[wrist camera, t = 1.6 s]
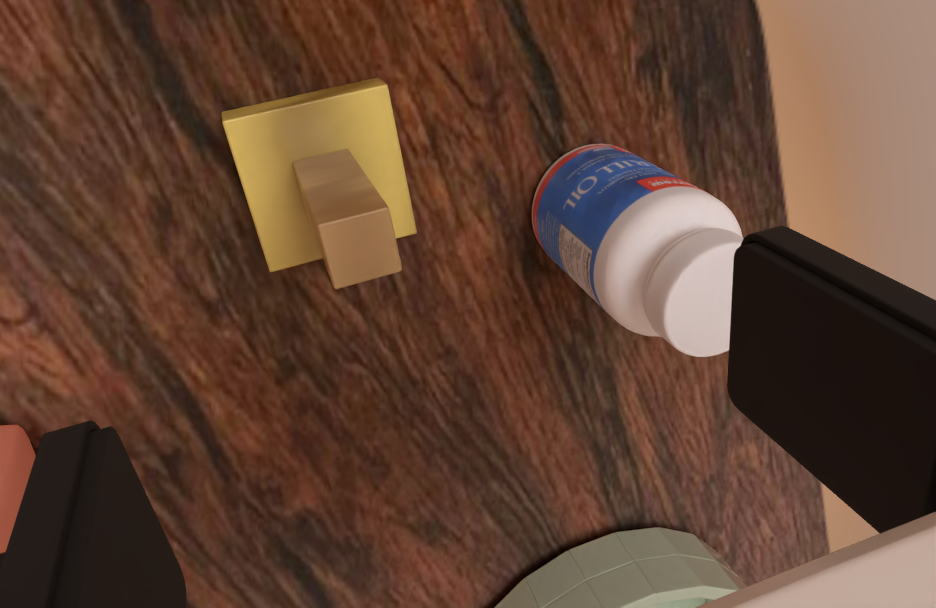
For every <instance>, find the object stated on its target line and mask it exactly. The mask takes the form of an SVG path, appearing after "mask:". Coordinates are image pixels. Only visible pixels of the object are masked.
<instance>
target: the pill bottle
mask: <svg viewBox="0 0 936 608" xmlns="http://www.w3.org/2000/svg"><path fill="white" fill-rule="evenodd" d="M532 225H533V230H534V233H535V236H536V238H537V240H538V242H539V244H540V246H541V247H542V248H543V250H544V251H545V252H546V254H547V255H548V256H549V257H550V258H551V259H552V260H553V261H554V262H555V263H556V264H557V265H558V266H559V267H560V268H562V269H563V270H564V271H565V272H566V273H567V274H568V275H569V276H570V277H571V278H572V279H573V280H574V281H575V282H576V283H577V284H578V285H579V286H580V287H581V288H582V289H583V290H584V291H585V292H586V293H587V294H588V295H589V296H590V297H591V298H593V299H594V300H595V301H596V302H597V303H598V304H599V305H600V306H601V307H602V308H603V309H604V310H605V311H606V312H607V313H608V314H609V315H610V316H611V317H612V318H614V319H615V320H616V321H617V322H618V323H619V324H620V325H622V326H623V327H625V328H626V329H628V330H630V331H632V332H635V333H638V334H641V335H646V336H661V337H662V338H664V339H665V340H666V341H667V342H669V343H670V344H671V345H672V346H673V347H675V348H676V349H677V350H679V351H680V352H682V353H685V354H687V355H690V356H695V357H708V356H714V355H718V354H721V353H723V352H726V351H728V350H729V342H730V322H731V302H732V283H733V263H734V254H735V251H736V249H737V248H739V247H740V246H741V243H742V241H743V239H744V238H743V237H742V233H741V229H740V226H739V224H738V222H737V220H736V218H735V216H734V215H733V213H732V212H731V211H730V210H729V208H728V207H727V206H726V205H725V204H723V203H722V202H721V201H720V200H718V199H717V198H715V197H713V196H712V195H710V194H708V193H707V192H705V191H703V190H701V189H700V188H698V187H696V186H694V185H692V184H690V183H688V182H686V181H684V180H682V179H680V178H678V177H676V176H674V175H672V174H670V173H669V172H667V171H664V170H663V169H661V168H659V167H657V166H655V165H653V164H651V163H650V162H648V161H646V160H644V159H642V158H640V157H638V156H636V155H634V154H633V153H631V152H629V151H627V150H625V149H622V148H620V147H617V146H613V145H608V144H591V145H585V146H581V147H578V148H576V149H573V150H571V151H570V152H568V153H566V154H564V155H563V156H562V157H560V158H559V159H558V160H556V161H555V162H554V163H553V164H552V165H551V167H550V168H549V169H548V170H547V171H546V173H545V174H544V176H543V177H542V179H541V181H540V182H539V185H538V187H537V189H536V192H535V195H534V199H533V204H532Z"/></svg>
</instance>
